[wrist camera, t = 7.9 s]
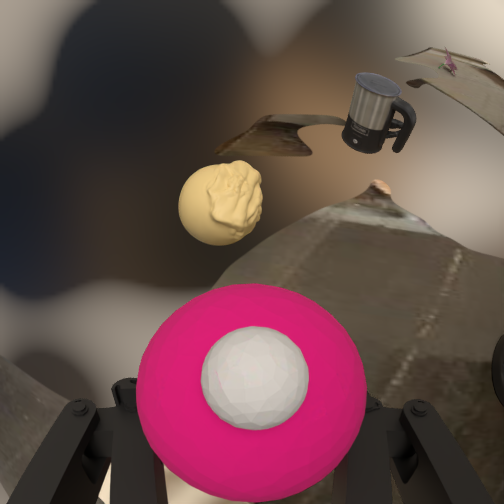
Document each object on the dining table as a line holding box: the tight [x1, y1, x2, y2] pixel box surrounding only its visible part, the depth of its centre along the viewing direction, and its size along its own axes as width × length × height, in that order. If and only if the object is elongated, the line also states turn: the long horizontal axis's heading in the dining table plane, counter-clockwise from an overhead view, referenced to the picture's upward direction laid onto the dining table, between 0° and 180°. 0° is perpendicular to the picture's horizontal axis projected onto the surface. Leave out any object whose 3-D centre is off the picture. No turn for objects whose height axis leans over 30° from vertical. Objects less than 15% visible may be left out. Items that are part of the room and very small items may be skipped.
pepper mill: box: [136, 284, 367, 502], centre depth 13 cm, size 7×7×20 cm
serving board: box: [99, 464, 254, 504], centre depth 28 cm, size 20×14×2 cm
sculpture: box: [179, 160, 263, 246], centre depth 45 cm, size 12×12×11 cm
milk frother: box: [342, 73, 416, 154], centre depth 56 cm, size 14×16×15 cm
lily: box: [439, 49, 457, 75], centre depth 90 cm, size 12×12×10 cm
